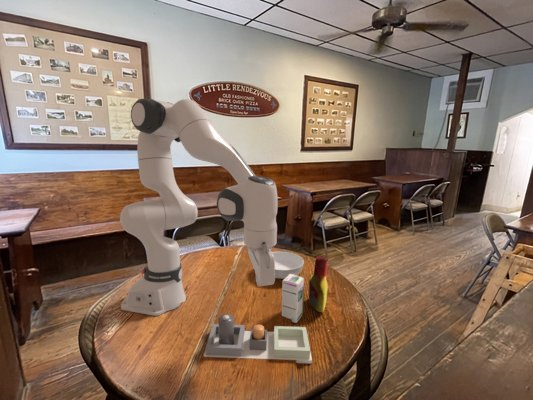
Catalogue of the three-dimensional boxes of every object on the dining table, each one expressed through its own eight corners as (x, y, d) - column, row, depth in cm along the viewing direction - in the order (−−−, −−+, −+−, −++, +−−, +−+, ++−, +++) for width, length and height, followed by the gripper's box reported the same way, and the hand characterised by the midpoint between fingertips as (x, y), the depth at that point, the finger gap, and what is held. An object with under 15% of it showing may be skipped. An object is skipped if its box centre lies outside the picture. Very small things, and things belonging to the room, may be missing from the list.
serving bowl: (305, 266, 133) (306, 253, 131) (300, 288, 113) (300, 272, 111) (264, 261, 138) (265, 248, 136) (252, 281, 118) (253, 266, 116)
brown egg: (252, 342, 77) (252, 331, 76) (253, 334, 80) (253, 324, 80) (263, 343, 77) (264, 332, 76) (264, 335, 80) (264, 324, 79)
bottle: (329, 315, 94) (333, 263, 90) (310, 315, 95) (314, 262, 91) (323, 297, 106) (326, 249, 102) (306, 296, 106) (309, 249, 102)
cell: (217, 348, 77) (217, 321, 75) (220, 337, 81) (220, 312, 80) (232, 348, 77) (232, 322, 75) (234, 337, 81) (234, 312, 80)
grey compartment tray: (203, 359, 74) (202, 347, 73) (212, 332, 85) (211, 321, 84) (311, 363, 74) (312, 351, 73) (306, 335, 84) (307, 324, 84)
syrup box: (296, 323, 90) (298, 284, 87) (280, 318, 93) (282, 279, 90) (302, 314, 95) (305, 277, 92) (287, 309, 98) (289, 272, 95)
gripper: (282, 250, 63) (280, 303, 66) (264, 225, 83) (263, 267, 85) (255, 252, 62) (255, 306, 64) (243, 226, 81) (243, 268, 84)
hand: (259, 283), depth 75 cm, fingers closed
